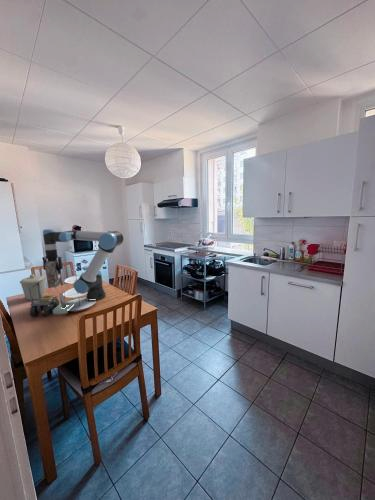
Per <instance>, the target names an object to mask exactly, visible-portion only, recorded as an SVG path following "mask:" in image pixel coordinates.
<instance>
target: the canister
mask: <svg viewBox="0 0 375 500" xmlns="http://www.w3.org/2000/svg"><path fill="white" fill-rule="evenodd" d="M45 279H46V277H45V276H43V275H35V274H30V275H29V276H28V277H25V278H23V279H21V280H20V281H19V284H20V285H21V288H22V291H23V295H24V297H25V299H26V300H28V301H31V299H30V293H29V287H30V286H32V285H34V284H36V283H39V286H40V292H41V298H42V297H43V296H46V295H45V294H46V280H45ZM31 290H32V296H33V301H36V300H37V299H39V294H38V288H37V285H36V286H34V287H32V288H31Z"/></svg>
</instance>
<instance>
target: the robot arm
mask: <svg viewBox="0 0 375 500" xmlns="http://www.w3.org/2000/svg"><path fill="white" fill-rule="evenodd" d="M42 237H43V241H44V250H45V251H44V252H45V256H43V257H41V259H42V265H43V267H42V268H43V270H45V263H46V262H48V261H55V260H56V268H57V270H56V271H57V278H60V274H62V273H61V272H62V271H61V270H62V269H64V267H63V262H62V257H63V256H58V249H57V243H58V242H59V243H67V242H68V243H69V242H70V241H74V240H75V241H88V242H89V241H91V242H98V244H97V247H98V248H97V250H96V252H95V254H94V255H93V257H92V259H91V260H90V263H89V264H88V266H87V268H86V269H85V271H84V272H81V275H80V276H79V278H78V279H76V280H75V281H74V282H73V284H72V285H73V288H74V290H75V292H77V293H78V294H79V295H83V294H86V300H87V299H96V301H99V300H103V299H105V298H106V296H107V294H106V291H105V289H104V286H103V277H102V276H103V275H102V272H101V271H100V270H101V268H102V267H103V266H104V263H105V262H106V261H107V258H108V257H109V255H110V254H113V253H114V251H115V249H116V248H117V247H118V246H120V245H122V243H124V235H123V233H121V232H120V231H118V230H113V231H111V230H109V231H107V232H104V231H90V230H89V231H88V230H77V229H73V230H72V229H71V230H66V231H65V230H64V231H55V229H53V228H48V229H47V228H46V229H43V230H42ZM57 259H58V262H59V264H58V262H57ZM45 271H46V270H45Z"/></svg>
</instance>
